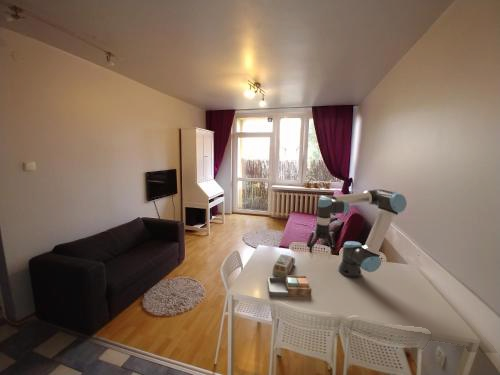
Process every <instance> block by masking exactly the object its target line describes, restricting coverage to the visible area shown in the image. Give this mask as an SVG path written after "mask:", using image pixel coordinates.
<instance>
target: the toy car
mask: <svg viewBox="0 0 500 375" xmlns="http://www.w3.org/2000/svg"><path fill="white" fill-rule="evenodd" d="M295 263H296V259H295V257H293V256H291V255H289V254H288V255H287V254H280V255H279V257H277V259H276V261H275V262H274V264H273V269H272V276H273V277H284V278H285V275H288V276H290V275H289V274H290V272H291V271H292V269H293V268H295Z"/></svg>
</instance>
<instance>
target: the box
mask: <svg viewBox="0 0 500 375" xmlns="http://www.w3.org/2000/svg"><path fill="white" fill-rule="evenodd" d="M284 280H285V278H284V277H278V276H267V288H268V295H269V297H276V298H277V297H283V298H285V297H286V298H289V296H288V291H287V290H286V286H285V282H284Z"/></svg>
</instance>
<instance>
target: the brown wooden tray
mask: <svg viewBox="0 0 500 375" xmlns="http://www.w3.org/2000/svg"><path fill="white" fill-rule="evenodd" d="M287 277H289V278H296V279H297V278H306V279H307V276H306V275H289V276H288V275H285V280H284V282H285V286H286V290H287V291H288V297H312V288H311V286H310V284H309V285H308V286H288V283H287Z"/></svg>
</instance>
